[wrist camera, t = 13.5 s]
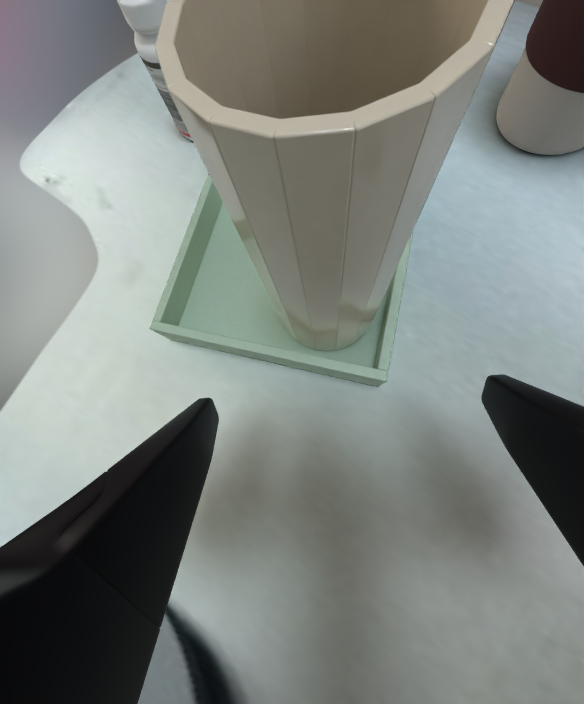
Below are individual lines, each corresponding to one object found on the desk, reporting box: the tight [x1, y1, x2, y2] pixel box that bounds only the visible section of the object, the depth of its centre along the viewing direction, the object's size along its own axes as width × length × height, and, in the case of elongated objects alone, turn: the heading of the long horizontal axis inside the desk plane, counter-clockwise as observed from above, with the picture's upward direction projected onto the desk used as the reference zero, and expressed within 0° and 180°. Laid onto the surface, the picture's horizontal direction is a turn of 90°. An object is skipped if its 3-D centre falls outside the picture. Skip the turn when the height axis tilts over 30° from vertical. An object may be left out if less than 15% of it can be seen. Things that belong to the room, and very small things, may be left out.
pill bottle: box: [117, 0, 192, 140], centre depth 21 cm, size 5×5×8 cm
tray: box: [150, 173, 413, 387], centre depth 19 cm, size 17×15×2 cm
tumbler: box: [155, 0, 515, 351], centre depth 12 cm, size 6×6×14 cm
